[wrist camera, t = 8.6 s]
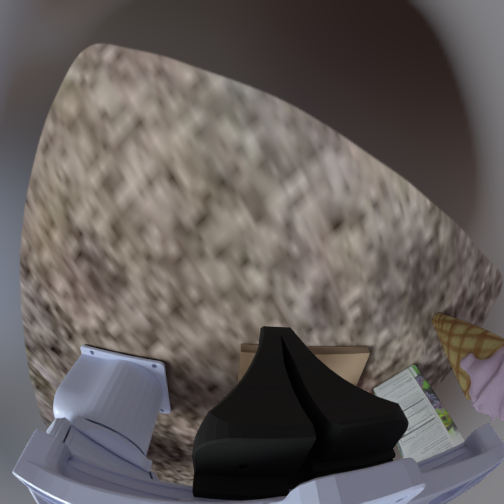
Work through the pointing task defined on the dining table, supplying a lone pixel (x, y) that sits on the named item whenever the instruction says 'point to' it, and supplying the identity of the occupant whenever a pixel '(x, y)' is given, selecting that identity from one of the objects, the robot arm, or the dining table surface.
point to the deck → (336, 358)
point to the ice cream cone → (474, 362)
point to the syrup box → (420, 416)
